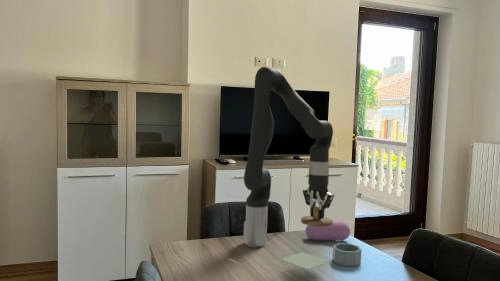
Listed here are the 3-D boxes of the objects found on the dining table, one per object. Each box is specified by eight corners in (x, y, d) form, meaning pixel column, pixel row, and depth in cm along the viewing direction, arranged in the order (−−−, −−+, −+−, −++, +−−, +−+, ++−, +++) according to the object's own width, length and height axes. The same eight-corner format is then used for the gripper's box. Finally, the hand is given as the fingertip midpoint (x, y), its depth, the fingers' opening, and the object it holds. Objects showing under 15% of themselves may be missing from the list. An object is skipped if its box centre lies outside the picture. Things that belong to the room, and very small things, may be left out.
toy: (306, 244, 181) (351, 243, 181) (306, 225, 181) (351, 224, 180) (304, 238, 189) (348, 238, 189) (304, 220, 189) (348, 219, 188)
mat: (280, 260, 158) (280, 259, 158) (301, 253, 167) (302, 252, 167) (307, 270, 149) (307, 269, 148) (328, 262, 158) (328, 261, 157)
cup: (328, 261, 158) (328, 246, 158) (342, 256, 165) (343, 241, 165) (350, 269, 151) (351, 254, 151) (364, 263, 158) (365, 248, 158)
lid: (294, 221, 157) (295, 205, 156) (314, 216, 165) (314, 201, 164) (319, 228, 148) (320, 212, 147) (339, 222, 156) (339, 207, 156)
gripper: (298, 171, 157) (296, 215, 159) (327, 176, 147) (326, 223, 148) (310, 170, 163) (308, 212, 164) (339, 174, 152) (338, 220, 154)
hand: (317, 217), depth 156 cm, fingers closed on lid, 3 cm apart
